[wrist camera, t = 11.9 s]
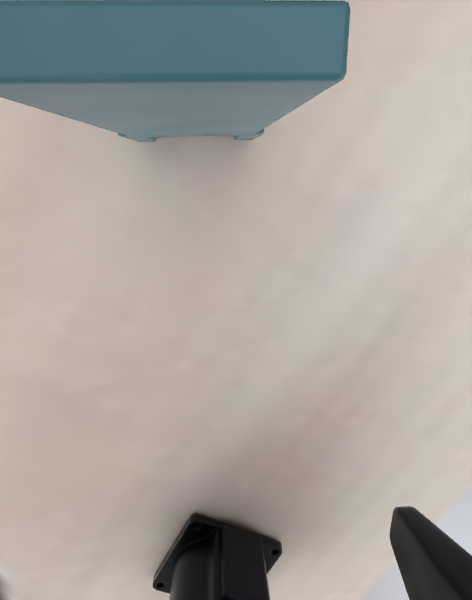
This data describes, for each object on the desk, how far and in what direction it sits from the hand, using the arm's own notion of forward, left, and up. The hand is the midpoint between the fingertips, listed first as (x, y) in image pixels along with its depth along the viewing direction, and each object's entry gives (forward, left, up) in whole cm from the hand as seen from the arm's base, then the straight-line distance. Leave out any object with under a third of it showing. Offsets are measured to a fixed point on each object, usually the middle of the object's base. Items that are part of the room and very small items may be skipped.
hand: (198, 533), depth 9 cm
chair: (+10, +5, -12) cm, 16 cm away
